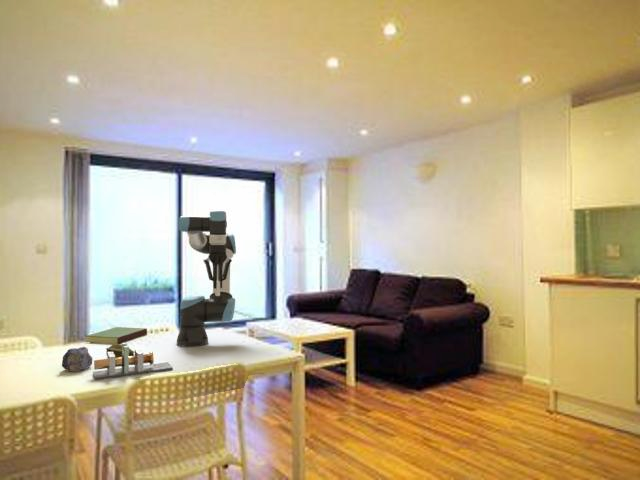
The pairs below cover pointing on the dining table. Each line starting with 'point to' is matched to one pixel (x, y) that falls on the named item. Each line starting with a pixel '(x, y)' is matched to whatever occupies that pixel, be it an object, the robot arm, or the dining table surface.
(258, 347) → the dining table surface
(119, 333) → the hardcover book
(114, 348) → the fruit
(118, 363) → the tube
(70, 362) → the rock
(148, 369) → the collar rail
